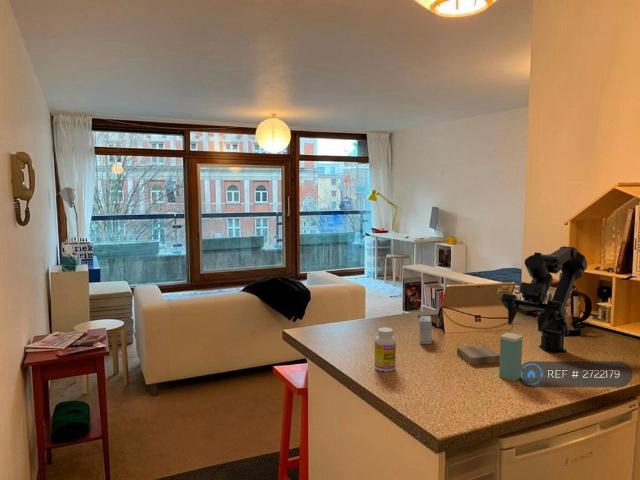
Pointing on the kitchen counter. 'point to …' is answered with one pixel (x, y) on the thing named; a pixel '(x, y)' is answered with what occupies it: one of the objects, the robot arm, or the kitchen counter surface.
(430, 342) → the medicine box
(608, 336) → the kitchen counter surface
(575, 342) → the kitchen counter surface
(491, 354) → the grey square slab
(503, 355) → the tea tin
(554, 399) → the kitchen counter surface
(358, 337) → the kitchen counter surface
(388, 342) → the supplement bottle
